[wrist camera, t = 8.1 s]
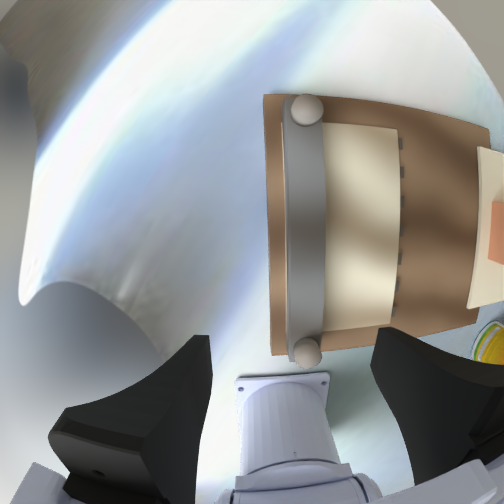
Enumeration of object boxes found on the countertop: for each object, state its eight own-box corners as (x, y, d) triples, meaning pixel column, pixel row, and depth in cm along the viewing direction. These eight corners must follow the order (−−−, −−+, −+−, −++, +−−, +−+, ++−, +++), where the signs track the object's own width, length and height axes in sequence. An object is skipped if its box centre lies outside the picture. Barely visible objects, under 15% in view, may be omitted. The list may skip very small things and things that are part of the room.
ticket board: (467, 317, 21) (497, 338, 16) (270, 345, 21) (275, 385, 16) (478, 130, 17) (515, 125, 12) (262, 101, 17) (267, 73, 12)
